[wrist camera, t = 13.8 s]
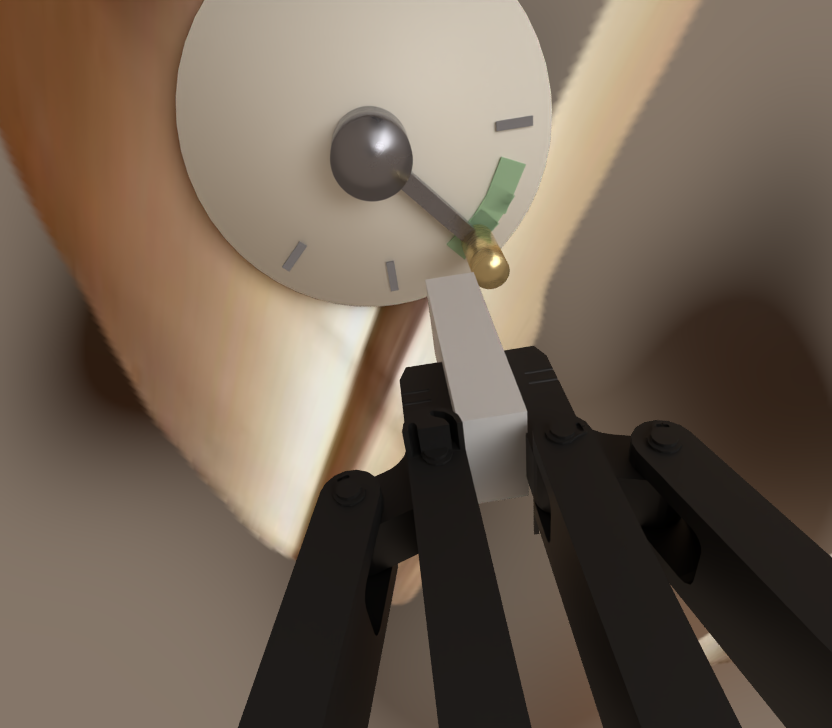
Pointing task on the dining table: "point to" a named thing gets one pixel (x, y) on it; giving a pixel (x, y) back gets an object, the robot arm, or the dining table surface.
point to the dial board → (332, 99)
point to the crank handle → (405, 183)
